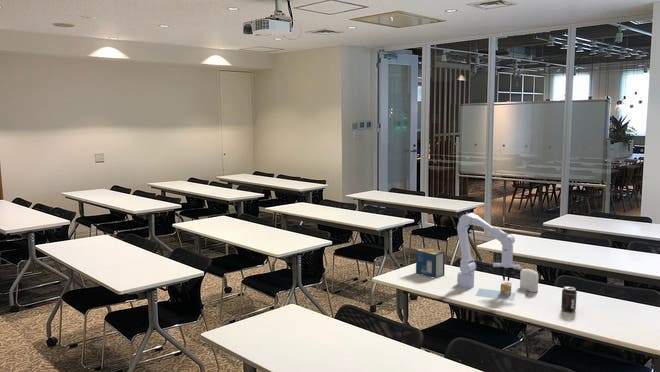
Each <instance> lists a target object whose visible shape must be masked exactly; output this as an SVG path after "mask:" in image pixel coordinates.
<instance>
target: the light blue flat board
mask: <svg viewBox="0 0 660 372" xmlns="http://www.w3.org/2000/svg"><path fill="white" fill-rule="evenodd" d="M516 294H517V293H516V292H512V291H511V295H510V296H506V295H500V290H496V289H488V288H487V289H485V288H478V290H477V292H476V293H475V295H474V296H475V297H481V298H491V299H496V300H505V301H513V302H514V300H515V297H516Z"/></svg>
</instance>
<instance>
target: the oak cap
mask: <svg viewBox="0 0 660 372" xmlns="http://www.w3.org/2000/svg"><path fill="white" fill-rule="evenodd" d="M499 291H500V295H506V296H510V295H511V292H512V282H510V281H501V283H500V290H499Z"/></svg>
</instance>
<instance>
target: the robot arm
mask: <svg viewBox="0 0 660 372" xmlns="http://www.w3.org/2000/svg"><path fill="white" fill-rule="evenodd" d="M470 226H478V227H480V228H482V229H483V230H485V231H487V232H489V235H490V236H491V237H493V238H494V239H495V240H497V241H498V242H500V244H501V262H493V263H492V267H493V268H499V270H500V274H501V276H502V280H503V281H502V282H506V268H507V275H508V276H507V282H510V277H511V275H512V273H513V271H514V270H520V271H521V270H522V269H521V268H522V267H521V265H520V264H515V263H513V256H514V255H513V254H514V244H515V242H516V240H515V239H516V238H515V236H514V235H513V234H509V233H507V232H505V231H503V229H501V227H497V226H492V225H491V224H489V223H488V222H487V221H485V220H484V219H482V218H481V217H480V216H479V215H477V214H475V212H469V213H466V214H463V215H461V216H460V217H459V218H458V223H457V225H456V227H457V228H456V231H457V236H458V241H459V248H460V254H461V259H460V261H459V262H460V265H459V270H460V271H458V273H457V279H456V286H457V287H461V288H466V289H472V288H474V287H475V271H476V270H477V263H476V262H475V259H474V257H473V256H472V253H471V246H470V245H471V244H470V239H469V233H468V229H469V228H471V227H470Z"/></svg>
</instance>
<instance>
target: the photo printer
mask: <svg viewBox="0 0 660 372" xmlns="http://www.w3.org/2000/svg"><path fill="white" fill-rule="evenodd" d="M519 278H520V279H519V289H520V290H521V289H523V290H526V291H528V292H532V293H537V292H538V291H539V273H538V272H537V271H536V270H533V269H529V268H523V269H520V275H519Z"/></svg>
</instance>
